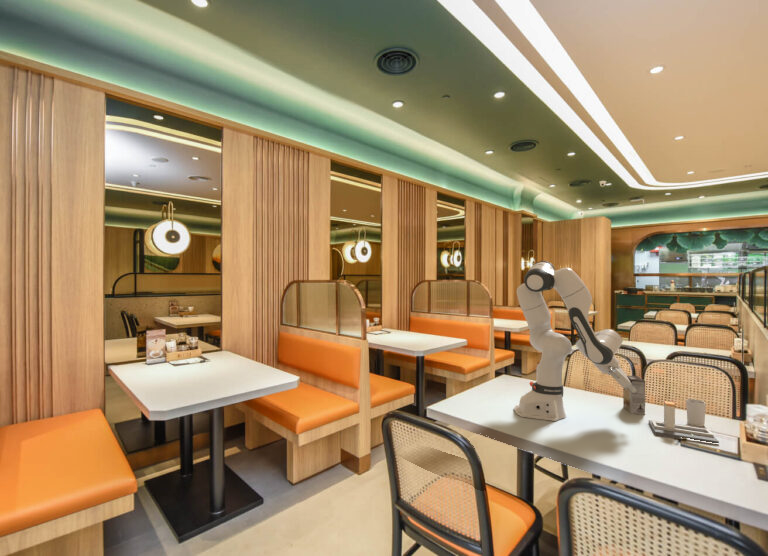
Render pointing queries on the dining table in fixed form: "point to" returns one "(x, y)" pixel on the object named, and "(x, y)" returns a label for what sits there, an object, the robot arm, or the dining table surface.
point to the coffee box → (635, 396)
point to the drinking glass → (695, 412)
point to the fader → (669, 414)
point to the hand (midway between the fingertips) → (634, 389)
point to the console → (682, 432)
